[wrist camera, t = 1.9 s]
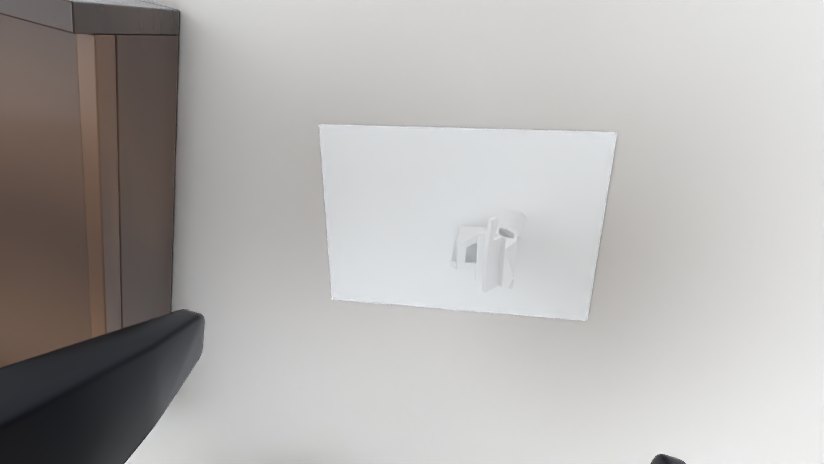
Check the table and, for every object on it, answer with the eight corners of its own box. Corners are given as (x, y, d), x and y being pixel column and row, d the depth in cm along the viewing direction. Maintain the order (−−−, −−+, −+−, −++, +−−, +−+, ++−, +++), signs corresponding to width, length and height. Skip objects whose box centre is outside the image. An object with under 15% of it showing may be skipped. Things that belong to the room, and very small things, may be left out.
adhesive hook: (520, 272, 18) (525, 317, 15) (450, 267, 18) (441, 310, 15) (527, 193, 17) (534, 226, 14) (452, 189, 17) (443, 221, 14)
